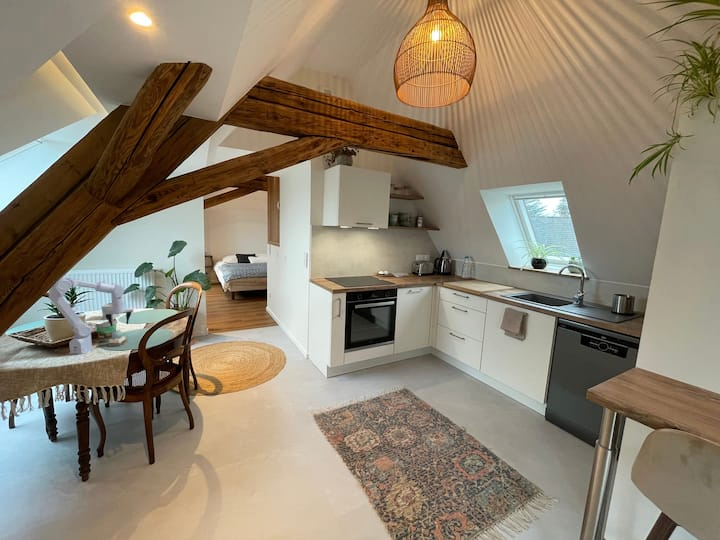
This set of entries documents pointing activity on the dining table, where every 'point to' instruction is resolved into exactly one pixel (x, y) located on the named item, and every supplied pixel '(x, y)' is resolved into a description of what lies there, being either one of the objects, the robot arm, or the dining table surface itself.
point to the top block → (117, 340)
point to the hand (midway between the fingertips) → (119, 324)
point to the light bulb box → (108, 308)
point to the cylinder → (116, 334)
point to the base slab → (117, 343)
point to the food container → (106, 329)
